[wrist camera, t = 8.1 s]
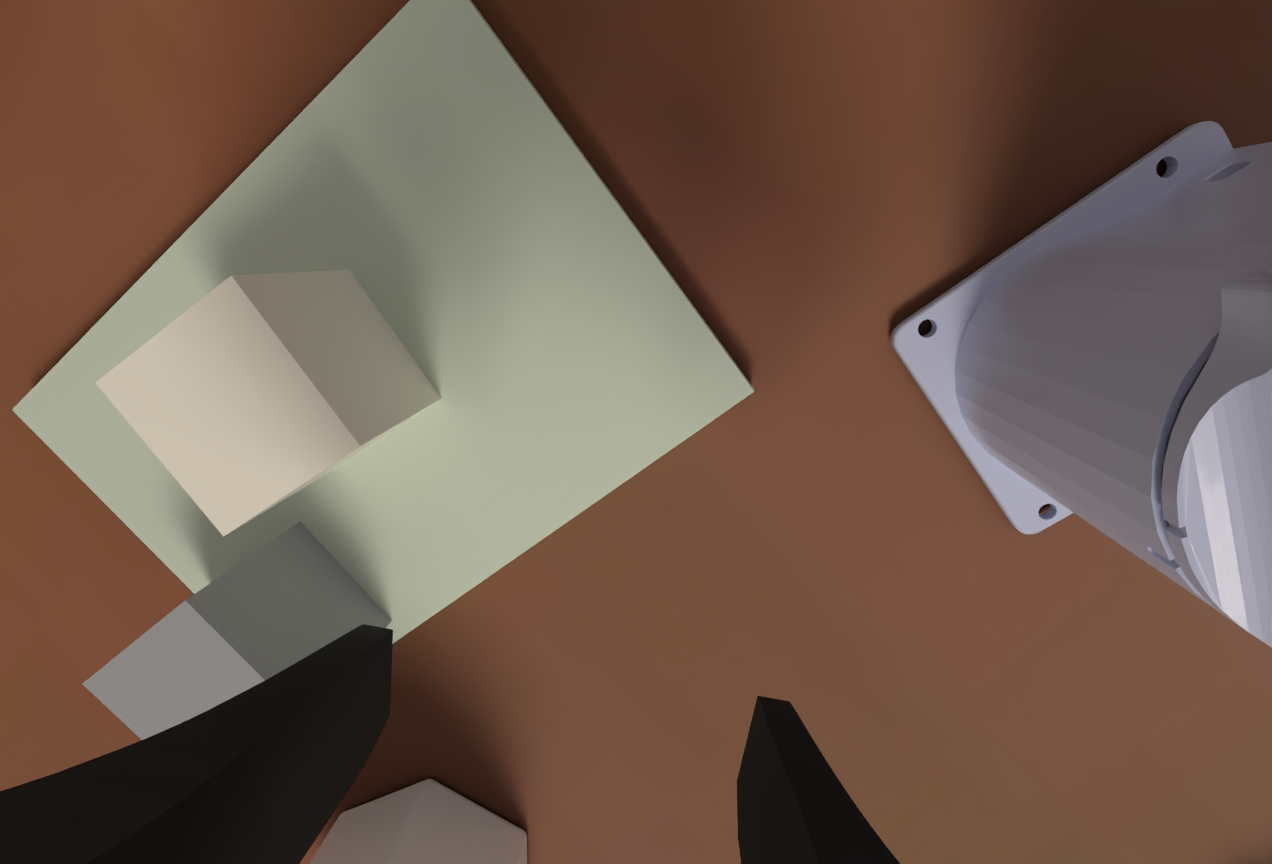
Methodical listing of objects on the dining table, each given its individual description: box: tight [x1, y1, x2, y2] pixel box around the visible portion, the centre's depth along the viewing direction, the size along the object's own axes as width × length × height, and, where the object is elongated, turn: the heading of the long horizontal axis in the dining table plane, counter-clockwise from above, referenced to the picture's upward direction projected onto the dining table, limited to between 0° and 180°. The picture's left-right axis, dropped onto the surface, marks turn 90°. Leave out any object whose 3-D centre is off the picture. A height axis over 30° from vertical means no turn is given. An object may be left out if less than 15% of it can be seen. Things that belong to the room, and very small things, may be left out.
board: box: [12, 0, 754, 644], centre depth 19 cm, size 20×14×4 cm
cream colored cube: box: [95, 270, 442, 537], centre depth 17 cm, size 5×5×5 cm
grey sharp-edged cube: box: [83, 522, 392, 740], centre depth 20 cm, size 5×5×5 cm
